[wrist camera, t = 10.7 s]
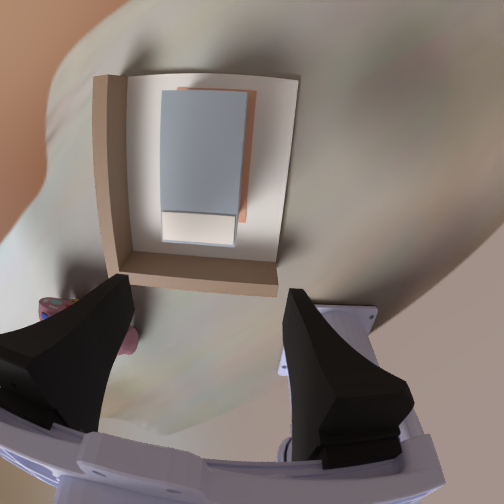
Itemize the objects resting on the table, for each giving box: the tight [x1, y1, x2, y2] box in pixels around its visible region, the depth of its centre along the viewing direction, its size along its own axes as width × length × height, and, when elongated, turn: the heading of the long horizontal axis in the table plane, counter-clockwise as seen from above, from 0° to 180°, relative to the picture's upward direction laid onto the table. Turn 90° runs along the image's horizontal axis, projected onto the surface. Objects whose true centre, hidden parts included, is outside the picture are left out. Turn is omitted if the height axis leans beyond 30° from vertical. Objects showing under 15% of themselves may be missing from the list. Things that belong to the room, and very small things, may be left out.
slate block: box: [160, 90, 249, 247], centre depth 16 cm, size 4×8×5 cm, turn 175°
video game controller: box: [39, 297, 139, 355], centre depth 23 cm, size 10×5×7 cm, turn 74°
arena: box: [92, 73, 298, 297], centre depth 18 cm, size 14×12×4 cm
